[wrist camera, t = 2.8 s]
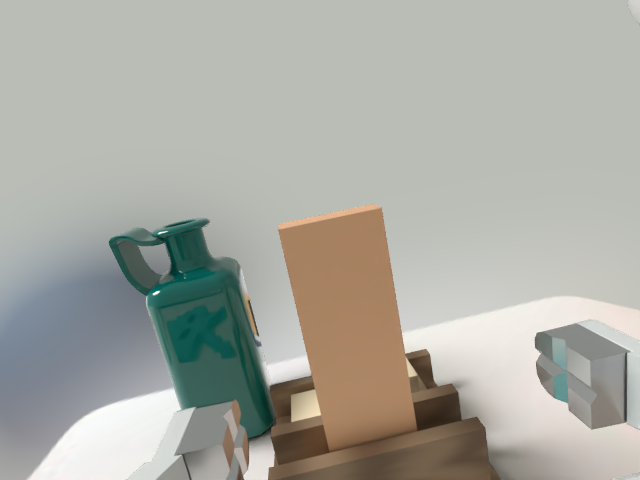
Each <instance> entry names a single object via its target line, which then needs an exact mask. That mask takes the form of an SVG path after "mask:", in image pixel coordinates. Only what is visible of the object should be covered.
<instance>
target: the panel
mask: <svg viewBox="0 0 640 480" xmlns="http://www.w3.org/2000/svg"><path fill="white" fill-rule="evenodd" d="M278 231H279V235H280V239H281V244H282V248H283V252H284V257H285V261H286V265H287V269H288V274H289V278H290V283H291V287H292V291H293V296H294V300H295V304H296V308H297V312H298V317H299V322H300V326H301V330H302V335H303V339H304V343H305V347H306V352H307V356H308V361H309V365H310V369H311V374H312V378H313V382H314V387H315V391H316V395H317V400H318V404H319V408H320V413H321V417H322V421H323V426H324V430H325V434H326V439H327V443H328V447H329V452H330V453H332V452H336V451H340V450H344V449H348V448H352V447H356V446H360V445H364V444H368V443H372V442H376V441H380V440H384V439H389V438H393V437H397V436H401V435H405V434H409V433H413V432H417V425H416V419H415V413H414V406H413V400H412V394H411V388H410V382H409V375H408V369H407V363H406V357H405V350H404V344H403V338H402V332H401V325H400V319H399V314H398V307H397V301H396V294H395V289H394V282H393V276H392V269H391V263H390V257H389V251H388V245H387V238H386V232H385V226H384V220H383V213H382V208H381V207H379V206H376V205H374V204H371V205H366V206H362V207H357V208H352V209H348V210H343V211H338V212H334V213H329V214H324V215H319V216H315V217H310V218H305V219H301V220H296V221H291V222H286V223H282V224H279V228H278Z"/></svg>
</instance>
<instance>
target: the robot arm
mask: <svg viewBox="0 0 640 480" xmlns="http://www.w3.org/2000/svg"><path fill="white" fill-rule="evenodd" d="M627 3H628V6H629V9H630V12H631V14H632V15H633V17H634V19H635V20H636V22H637V23H638V24H639V25H640V0H627ZM535 348H536V349H537V350H538V351H539V352H540V353H541V355H540V356H539V358H538V360H537V362H536V367H537V375H538V377H539V379H540V382H541V384H542V385H543V387H544V388H545V389H546V391H547V392H548V393H549V394H550V395H552V396H553V397H554V398H555V399H558V400H561V401H563V402H566V403H568V408H569V411H570V412H571V413H573V414H574V415H575V416H576V417H577V418H579V419H580V420H581V421H582V422H583V423H584V424H586V425H587V426H588V427H589V428H590V429H597V428H602V427H607V426H612V425H617V424H621V423H626V422H627V425H630V426H632V427H634V428H636V429H639V430H640V341H639V340H637V339H635V338H633V337H631V336H629V335H627V334H625V333H623V332H621V331H619V330H616V329H614V328H612V327H610V326H608V325H606V324H604V323H602V322H600V321H598V320H586V321H582V322H579V323H575V324H572V325H568V326H564V327H560V328H556V329H552V330H547V331H543V332H539V333H537V334H536V337H535ZM240 417H241V411H240V408H239V404H238V402H237V401H236V400H235V399H233V400H228V401H223V402H218V403H213V404H208V405H203V406H198V407H193V408H188V409H184V410H180V411H177V412H176V413H174V415H173V417H172V419H171V421H170V423H169V425H168V427H167V429H166V431H165V434H164V436H163V438H162V440H161V442H160V444H159V446H158V448H157V450H156V452H155V455H154V457H153V459H152V461H151V462H147V463H144V464H143V465H142V466H141V467H140V468H138V469H137V470H136V471H135V472H134V473H133V474H132V475H130V476H129V477H128V478H127V479H126V480H244V478H243V475H244V474H245V473H246V471H247V470H248V464H249V445H248V438H247V434H246V430H245V428H244V427H243V426H242V425H240V424H239V422H240ZM612 480H640V473H636V474H632V475H628V476H624V477H620V478H616V479H612Z"/></svg>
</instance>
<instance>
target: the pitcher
mask: <svg viewBox="0 0 640 480" xmlns="http://www.w3.org/2000/svg"><path fill="white" fill-rule="evenodd" d="M209 223H210V220H209V219H207V218H196V219H190V220H186V221H181V222H177V223H173V224H169V225H166V226H162V227H160V228H157V229H155V230H154V231H153V232H152V233H150V232H148V231H147V230H146V229H144V228H133V229H131V230H128V231H126V232H124V233H122V234H120V235H118V236H115V237H113V238H111V240H110V241H109V245H110V247H111V249H112V251H113V254H114V256H115V258H116V259H117V262H118V263H119V266H120V268H121V269H122V272H123V273H124V275H125V277H126V278H127V280H128V281H129V282H130V283H131V284H132V285H133V286H134V287H135V288H136V289H137V290H138V291H140V292H141V293H142V294H144V295H146V305H147V309H148V312H149V315H150V318H151V321H152V324H153V327H154V330H155V333H156V336H157V339H158V342H159V345H160V348H161V351H162V354H163V357H164V360H165V363H166V366H167V369H168V372H169V375H170V378H171V381H172V384H173V387H174V390H175V393H176V396H177V399H178V402H179V405H180V408H181V410H184V409H188V408H193V407H198V406H203V405H208V404H213V403H218V402H223V401H228V400H233V399H235V400H236V401H237V402H238V404H239V408H240V411H241V417H240V422H239V424H240V425H242V426H243V427H244V428H245V430H246V434H247V438H248V439H249V438H252V437H255V436H258V435H261V434H262V433H264V432H265V431H267V430H268V429H269V427H270V426H271V425H272V424H273V422H274V420H275V416H276V415H275V411H274V407H273V404H272V400H271V396H270V392H269V391H270V385H272V383H271V379H270V375H269V372H268V368H267V364H266V360H265V356H264V352H263V349H262V345H261V341H260V337H259V333H258V330H257V326H256V322H255V318H254V314H253V310H252V307H251V303H250V299H249V296H248V291H247V288H246V284H245V280H244V276H243V272H242V269H241V266H240V265H239V264H238V262H237V261H236V260H235V259H232V258H229V257H216V258H214V257H212V255H211V254H210V253H209V251H208V248H207V244H206V241H205V237H204V234H203V230H202V228H203V227H206V226H207V225H208V224H209ZM163 243H164V244H165V247H166V250H167V253H168V257H169V260H170V268H169V270H168V271H167V272H165V273H164V274H163V275H159V274H157V273H155V272H154V271H153V270H151V269H150V267H149V266H148V265H147V263H146V262H145V260H144V259H143V257H142V255H141V252H140V250H139V247H138V245H139V246H154V245H159V244H163Z"/></svg>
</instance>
